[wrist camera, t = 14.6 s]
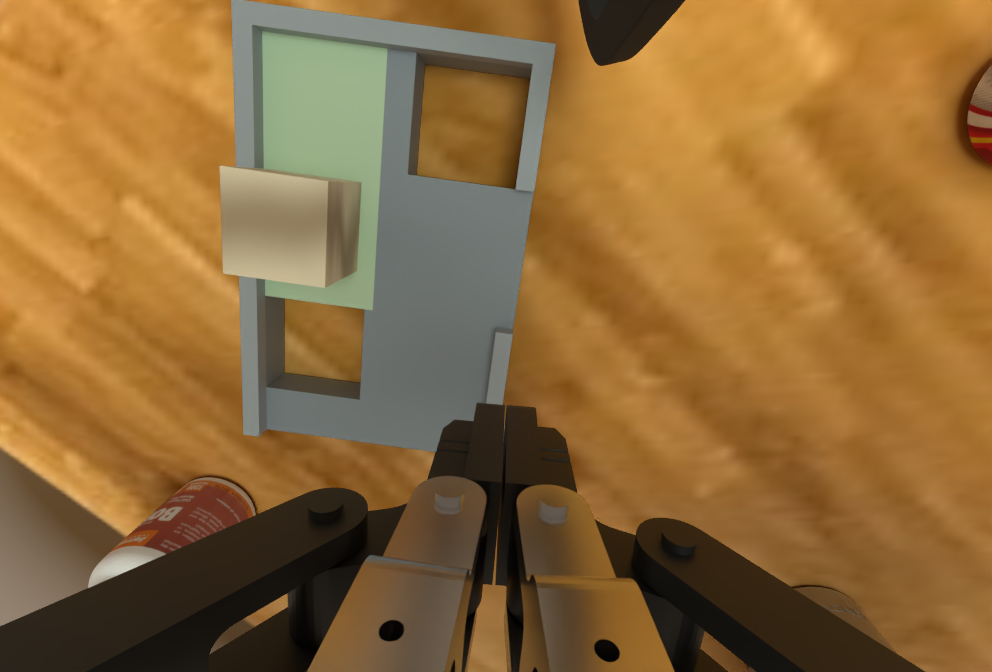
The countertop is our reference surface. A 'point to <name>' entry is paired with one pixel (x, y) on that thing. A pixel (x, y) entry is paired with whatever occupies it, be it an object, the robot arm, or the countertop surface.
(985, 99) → the soda can
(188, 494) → the pill bottle
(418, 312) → the box
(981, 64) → the countertop surface
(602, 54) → the coffee press
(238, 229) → the maple block
